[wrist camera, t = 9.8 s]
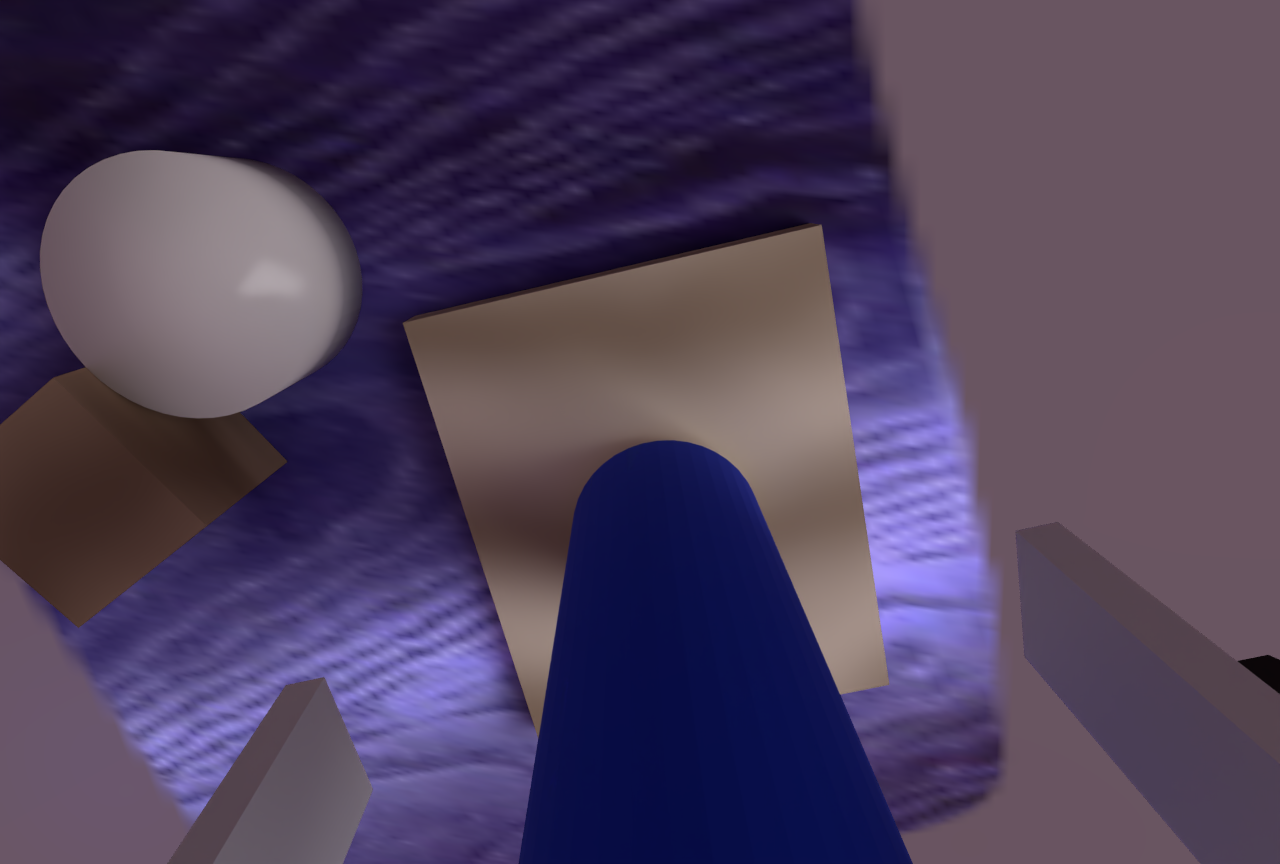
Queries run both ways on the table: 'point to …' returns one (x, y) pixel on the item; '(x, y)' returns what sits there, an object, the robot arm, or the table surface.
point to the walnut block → (113, 488)
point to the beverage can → (692, 688)
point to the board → (657, 424)
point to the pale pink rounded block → (198, 279)
